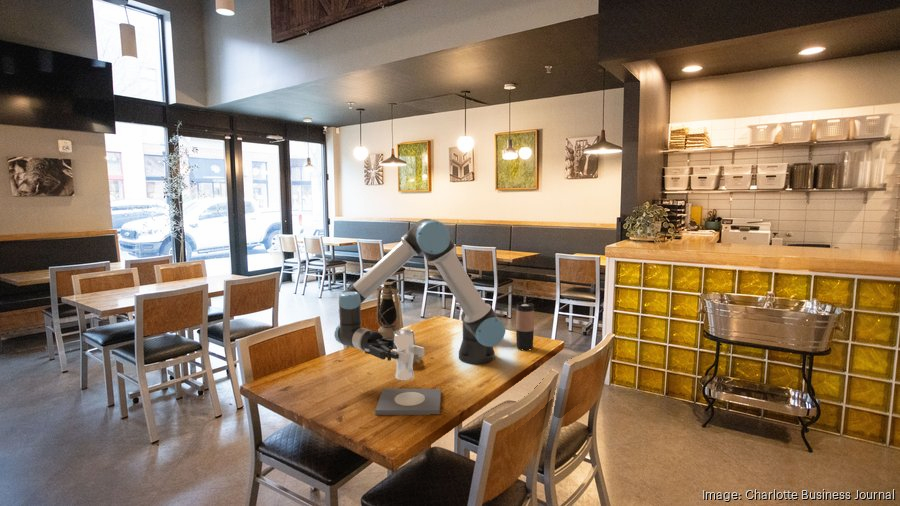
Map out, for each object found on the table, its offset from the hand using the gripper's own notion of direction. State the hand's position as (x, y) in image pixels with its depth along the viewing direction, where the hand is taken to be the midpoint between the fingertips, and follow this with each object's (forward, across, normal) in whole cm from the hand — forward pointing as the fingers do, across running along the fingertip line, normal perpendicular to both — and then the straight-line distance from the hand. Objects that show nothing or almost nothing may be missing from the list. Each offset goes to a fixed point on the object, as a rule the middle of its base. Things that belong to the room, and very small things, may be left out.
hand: (415, 355), depth 146 cm
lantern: (-63, -44, -18) cm, 79 cm away
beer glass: (-5, 0, -9) cm, 10 cm away
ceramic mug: (-32, -28, -18) cm, 46 cm away
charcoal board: (-4, -1, -18) cm, 18 cm away
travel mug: (-4, -73, -18) cm, 75 cm away
